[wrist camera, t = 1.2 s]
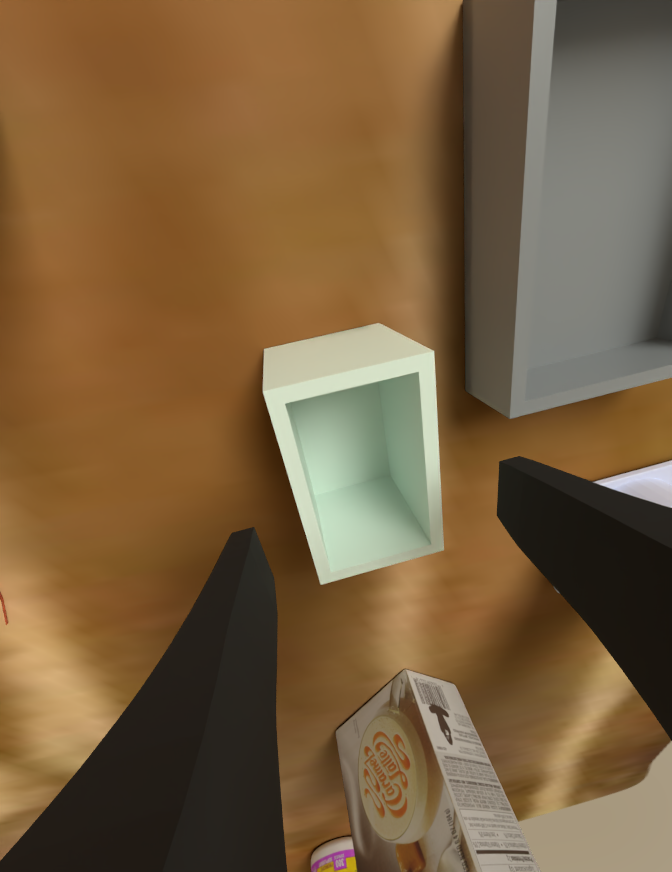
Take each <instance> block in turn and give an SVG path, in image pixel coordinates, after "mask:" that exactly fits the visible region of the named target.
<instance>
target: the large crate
mask: <svg viewBox="0 0 672 872" xmlns="http://www.w3.org/2000/svg"><path fill="white" fill-rule="evenodd" d="M463 104H464V253H465V391H466V392H468V393H469V394H471V395H473V396H474V397H476V398H477V399H479V400H481V401H482V402H484V403H485V404H487V405H489V406H490V407H492V408H493V409H495V410H496V411H498V412H500V413H501V414H503V415H504V416H506V417H508V418H509V419H511V418H515V417H519V416H523V415H527V414H531V413H535V412H539V411H542V410H546V409H550V408H554V407H558V406H562V405H566V404H570V403H574V402H578V401H582V400H586V399H589V398H593V397H597V396H601V395H605V394H609V393H613V392H617V391H621V390H625V389H629V388H632V387H636V386H640V385H644V384H648V383H652V382H656V381H660V380H664V379H668V378H672V0H463Z"/></svg>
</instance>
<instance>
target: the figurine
mask: <svg viewBox="0 0 672 872" xmlns="http://www.w3.org/2000/svg"><path fill="white" fill-rule="evenodd" d="M0 599H1V602H2V607H3V612H4V617H5V622H6V625H7V624H8V620H7V615H6V610H5V605H4V600H3V597H2V595H1V593H0Z"/></svg>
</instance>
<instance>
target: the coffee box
mask: <svg viewBox="0 0 672 872" xmlns="http://www.w3.org/2000/svg"><path fill="white" fill-rule="evenodd" d="M336 739H337V745H338V752H339V758H340V764H341V771H342V777H343V784H344V791H345V797H346V803H347V809H348V815H349V822H350V828H351V835H352V841H353V848H354V854H355V860H356V868H357V872H541V871H540V869H539V867H538V865H537V862H536V860H535V858H534V856H533V854H532V852H531V849H530V847H529V845H528V843H527V841H526V839H525V836H524V834H523V832H522V830H521V828H520V826H519V823H518V821H517V819H516V817H515V814H514V812H513V810H512V808H511V806H510V804H509V801H508V799H507V797H506V795H505V793H504V790H503V788H502V786H501V784H500V782H499V780H498V777H497V775H496V773H495V771H494V769H493V766H492V764H491V762H490V760H489V758H488V756H487V754H486V751H485V749H484V747H483V745H482V742H481V740H480V738H479V736H478V734H477V732H476V730H475V728H474V725H473V723H472V721H471V719H470V716H469V714H468V712H467V710H466V708H465V705H464V703H463V701H462V699H461V697H460V694H459V692H458V690H457V688H456V686H455V685H454V684H452V683H449V682H446V681H443V680H440V679H436V678H433V677H430V676H426V675H423V674H420V673H416V672H413V671H410V670H407V669H404V670H403V671H402V672H401V673H400V674H398V675H397V676H396V677H395V678H394V679H393V680H392V681H391V682H390V683H388V684H387V685H386V686H385V687H384V688H383V689H382V690H381V691H380V692H379V693H378V694H376V695H375V696H374V697H373V698H372V699H371V700H370V701H369V702H368V703H367V704H365V705H364V706H363V707H362V708H361V709H360V710H359V711H358V712H357V713H355V714H354V715H353V716H352V717H351V718H350V719H349V720H348V721H347V722H345V723H344V724H343V725H342V726H341V727H340V728H339V729H338V730H337V731H336Z"/></svg>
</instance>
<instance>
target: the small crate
mask: <svg viewBox="0 0 672 872" xmlns="http://www.w3.org/2000/svg"><path fill="white" fill-rule="evenodd" d="M263 394H264V398H265V401H266V404H267V408H268V411H269V414H270V417H271V421H272V424H273V427H274V431H275V434H276V437H277V441H278V444H279V447H280V451H281V454H282V457H283V461H284V464H285V467H286V471H287V474H288V477H289V481H290V484H291V487H292V491H293V494H294V497H295V501H296V504H297V507H298V511H299V514H300V517H301V521H302V524H303V527H304V531H305V534H306V537H307V541H308V544H309V547H310V551H311V554H312V557H313V561H314V564H315V567H316V571H317V574H318V577H319V581H320V584H321V585H322V584H326V583H329V582H333V581H336V580H340V579H344V578H347V577H351V576H354V575H358V574H361V573H365V572H368V571H372V570H375V569H379V568H383V567H386V566H390V565H393V564H397V563H400V562H404V561H407V560H411V559H415V558H418V557H422V556H425V555H429V554H432V553H436V552H439V551H443V550H444V542H443V521H442V501H441V481H440V460H439V440H438V420H437V399H436V379H435V359H434V351H433V350H431V349H429V348H427V347H425V346H423V345H421V344H419V343H417V342H415V341H413V340H411V339H409V338H407V337H406V336H404V335H402V334H400V333H398V332H396V331H394V330H392V329H390V328H388V327H386V326H384V325H382V324H380V323H377V324H372V325H368V326H364V327H359V328H355V329H350V330H346V331H341V332H337V333H333V334H328V335H324V336H319V337H315V338H311V339H306V340H302V341H297V342H293V343H288V344H284V345H280V346H275V347H271V348H266V349H264V366H263Z"/></svg>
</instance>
